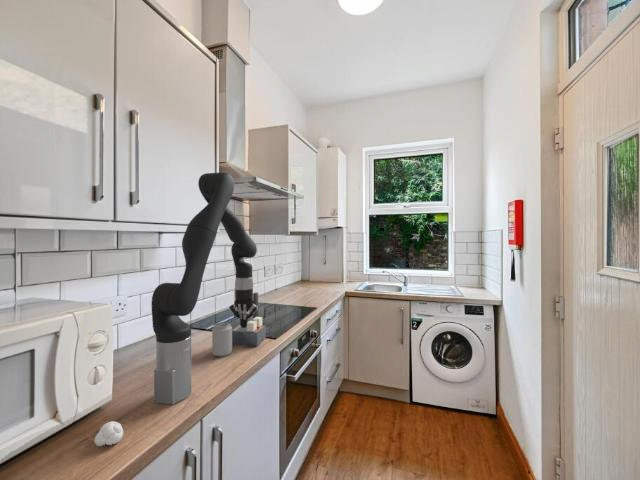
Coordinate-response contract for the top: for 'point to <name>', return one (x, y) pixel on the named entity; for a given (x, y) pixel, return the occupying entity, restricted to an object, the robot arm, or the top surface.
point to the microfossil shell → (109, 434)
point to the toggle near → (252, 326)
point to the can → (222, 339)
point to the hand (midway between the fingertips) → (244, 327)
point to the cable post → (255, 299)
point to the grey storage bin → (248, 336)
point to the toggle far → (258, 321)
